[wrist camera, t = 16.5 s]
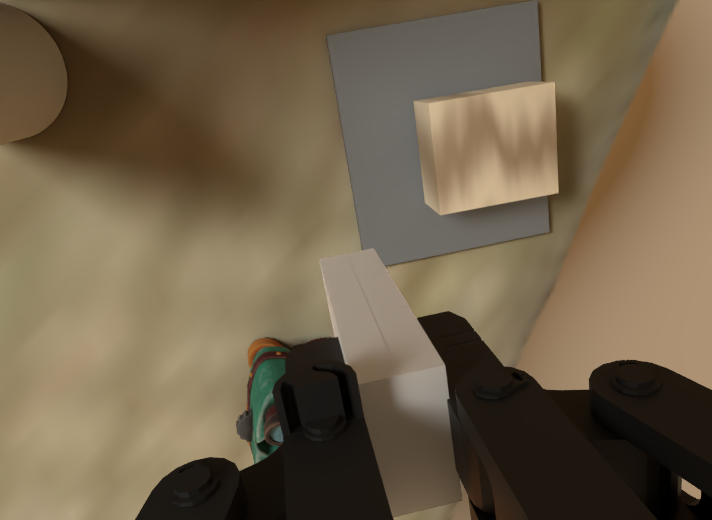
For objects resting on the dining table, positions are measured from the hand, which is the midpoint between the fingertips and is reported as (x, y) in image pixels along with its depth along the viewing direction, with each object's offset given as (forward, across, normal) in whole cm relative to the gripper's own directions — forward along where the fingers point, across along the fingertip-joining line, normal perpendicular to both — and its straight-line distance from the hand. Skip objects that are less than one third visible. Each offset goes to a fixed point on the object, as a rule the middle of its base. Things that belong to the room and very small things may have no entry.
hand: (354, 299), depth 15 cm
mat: (+24, +10, 0) cm, 26 cm away
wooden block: (+22, +8, 0) cm, 23 cm away
